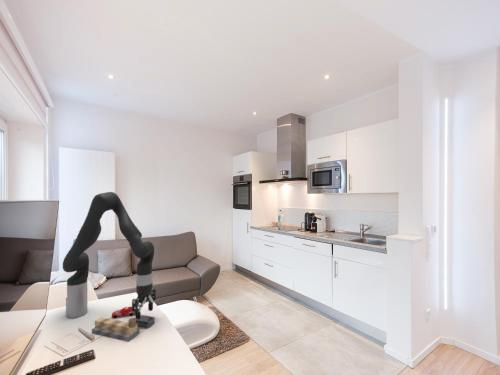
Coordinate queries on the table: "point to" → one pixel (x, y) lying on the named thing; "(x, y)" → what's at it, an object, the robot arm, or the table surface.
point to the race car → (123, 312)
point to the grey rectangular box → (145, 321)
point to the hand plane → (116, 328)
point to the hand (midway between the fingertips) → (144, 314)
